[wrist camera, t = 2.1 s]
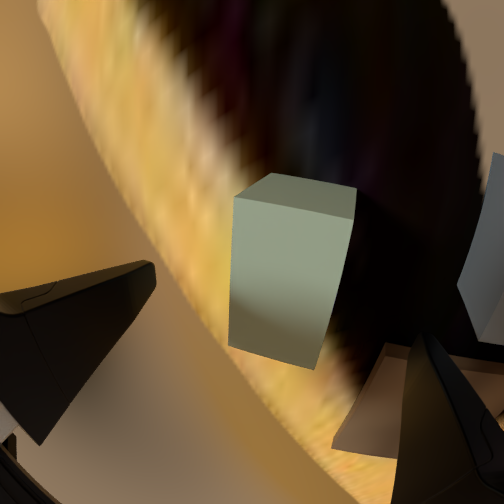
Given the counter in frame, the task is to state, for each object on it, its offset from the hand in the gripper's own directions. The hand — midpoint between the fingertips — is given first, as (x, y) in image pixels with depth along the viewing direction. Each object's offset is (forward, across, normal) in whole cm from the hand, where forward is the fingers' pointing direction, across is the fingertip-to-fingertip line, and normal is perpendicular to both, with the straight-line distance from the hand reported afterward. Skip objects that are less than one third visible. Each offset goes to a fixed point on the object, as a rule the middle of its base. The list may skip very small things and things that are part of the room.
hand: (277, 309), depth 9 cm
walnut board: (+5, -10, +9) cm, 14 cm away
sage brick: (+5, 0, 0) cm, 5 cm away
